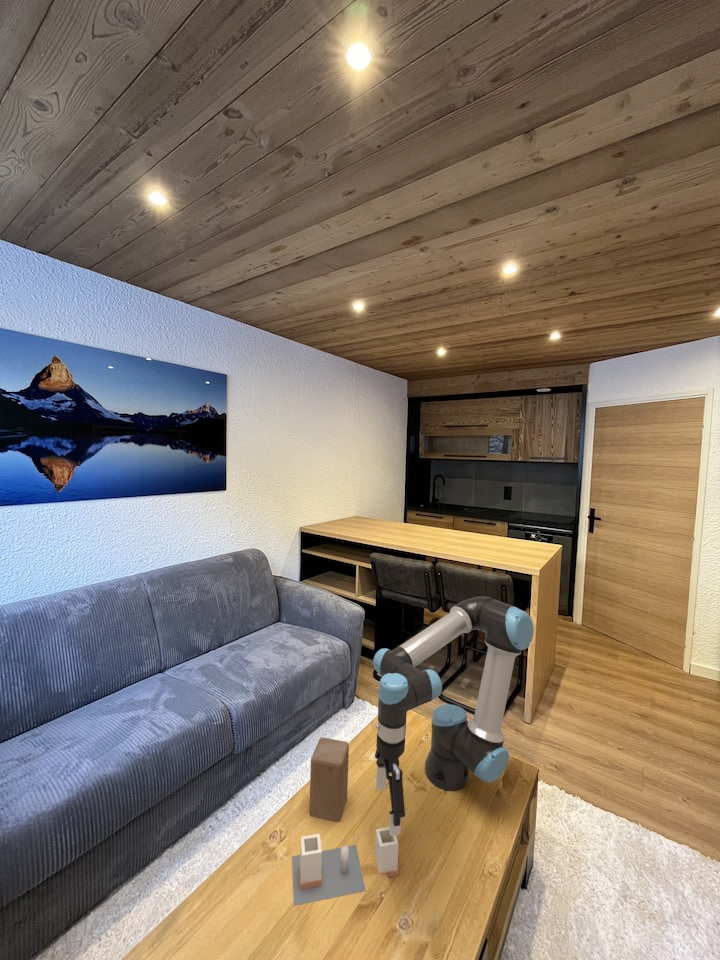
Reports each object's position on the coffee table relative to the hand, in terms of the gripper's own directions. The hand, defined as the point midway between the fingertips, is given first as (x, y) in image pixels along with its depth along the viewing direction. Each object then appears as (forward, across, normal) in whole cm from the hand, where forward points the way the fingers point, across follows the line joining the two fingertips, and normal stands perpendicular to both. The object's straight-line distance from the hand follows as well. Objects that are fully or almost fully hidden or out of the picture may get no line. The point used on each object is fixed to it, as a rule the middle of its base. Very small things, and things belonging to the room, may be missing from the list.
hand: (387, 810), depth 107 cm
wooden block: (+17, -20, -13) cm, 29 cm away
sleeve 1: (+15, 0, -20) cm, 25 cm away
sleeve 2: (+17, 0, 0) cm, 17 cm away
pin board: (+17, 0, -16) cm, 23 cm away
